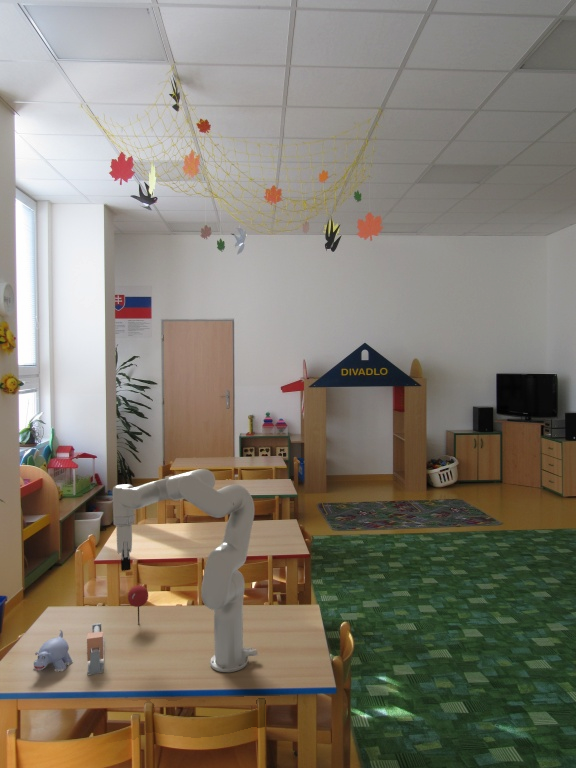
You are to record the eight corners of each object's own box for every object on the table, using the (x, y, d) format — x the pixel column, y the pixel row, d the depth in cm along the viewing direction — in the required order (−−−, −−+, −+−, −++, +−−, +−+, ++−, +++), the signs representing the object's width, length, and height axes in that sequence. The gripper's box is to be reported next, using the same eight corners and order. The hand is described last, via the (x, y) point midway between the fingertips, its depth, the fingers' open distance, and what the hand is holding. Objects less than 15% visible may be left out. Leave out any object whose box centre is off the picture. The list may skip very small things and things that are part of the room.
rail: (104, 640, 215) (104, 622, 215) (103, 672, 193) (102, 652, 192) (90, 642, 213) (89, 624, 213) (87, 675, 191) (86, 654, 191)
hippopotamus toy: (22, 678, 190) (21, 649, 189) (48, 655, 205) (47, 628, 204) (53, 681, 188) (52, 652, 188) (77, 657, 203) (76, 630, 202)
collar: (103, 653, 200) (102, 631, 199) (103, 658, 196) (102, 636, 195) (87, 655, 198) (87, 633, 198) (87, 661, 194) (86, 638, 194)
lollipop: (126, 622, 229) (126, 584, 229) (146, 618, 233) (145, 581, 232) (130, 630, 222) (129, 591, 222) (150, 626, 226) (149, 588, 225)
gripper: (113, 515, 218) (114, 564, 218) (113, 525, 203) (115, 578, 204) (134, 513, 220) (135, 561, 220) (136, 523, 205) (137, 575, 206)
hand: (125, 569), depth 212 cm, fingers closed
